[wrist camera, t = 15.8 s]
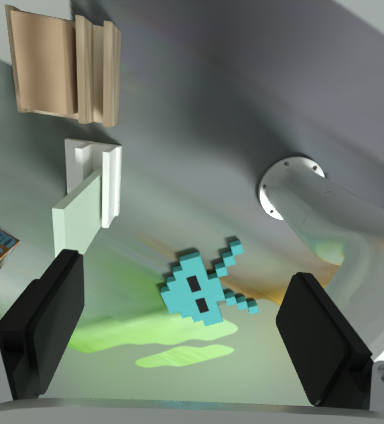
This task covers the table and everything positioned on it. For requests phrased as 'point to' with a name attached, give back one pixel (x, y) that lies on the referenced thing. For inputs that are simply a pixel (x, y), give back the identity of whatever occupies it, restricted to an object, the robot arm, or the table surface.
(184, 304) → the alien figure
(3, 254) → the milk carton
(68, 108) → the offcut upper
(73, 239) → the sheet
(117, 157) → the stand
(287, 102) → the table surface
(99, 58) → the rack
